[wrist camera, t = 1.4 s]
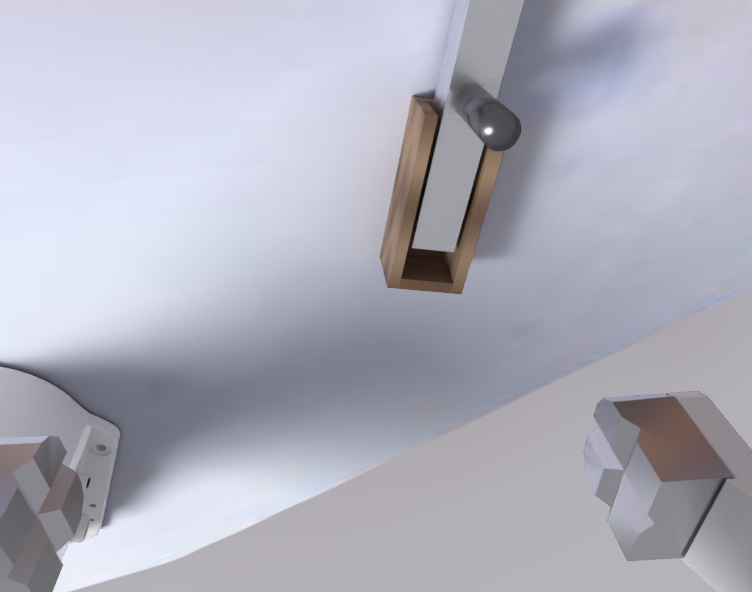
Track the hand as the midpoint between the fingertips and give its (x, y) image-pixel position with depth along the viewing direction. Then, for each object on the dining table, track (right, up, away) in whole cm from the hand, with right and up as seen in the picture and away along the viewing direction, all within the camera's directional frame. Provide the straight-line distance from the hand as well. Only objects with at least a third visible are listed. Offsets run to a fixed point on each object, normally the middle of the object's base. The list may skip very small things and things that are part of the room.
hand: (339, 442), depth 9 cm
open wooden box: (+5, +10, +31) cm, 33 cm away
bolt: (+6, +14, +28) cm, 32 cm away
